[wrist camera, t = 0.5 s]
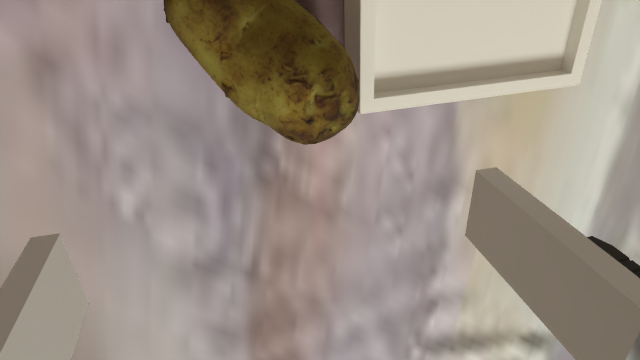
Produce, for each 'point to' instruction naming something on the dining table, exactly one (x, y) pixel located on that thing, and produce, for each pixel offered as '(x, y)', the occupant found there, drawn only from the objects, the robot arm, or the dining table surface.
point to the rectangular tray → (464, 48)
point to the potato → (272, 63)
